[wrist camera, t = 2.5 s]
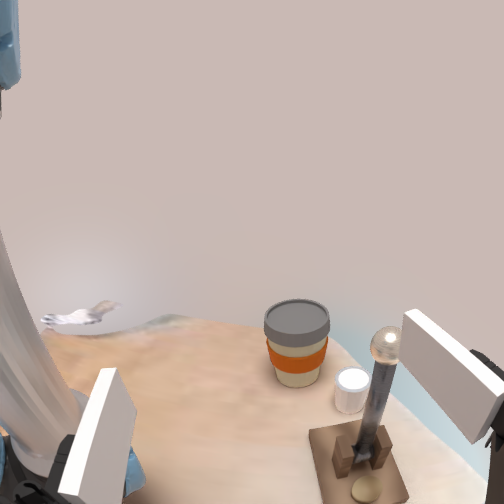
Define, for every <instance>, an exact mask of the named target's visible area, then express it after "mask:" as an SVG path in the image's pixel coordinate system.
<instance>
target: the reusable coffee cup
mask: <svg viewBox="0 0 504 504" xmlns="http://www.w3.org/2000/svg"><path fill="white" fill-rule="evenodd" d="M264 319H265V321H264V332H265V335H266V336H267V341H266V343H267V347H268V351H269V355H270V359H271V362H272V364H273V365H274V367H275V371H276V375H277V378H278V380H279V381H280V382H281V383H282V384H283V385H285V386H288V387H292V388H301V387H306V386H308V385H310V384H312V383H313V382H315V380H316V379H317V377H318V374H319V370H320V366H321V364H322V362H323V360H324V357H325V353H326V348H327V343H328V336H327V334H328V333H329V331H330V320H329V312H328V310H327V309H326V308H325V307H324V306H323V305H321V304H320V303H317V302H315V301H312V300H306V299H292V300H286V301H282V302H279V303H277V304H275V305H273V306H271V307H270V308H269V309H268V310H267V311H266V313H265V318H264Z"/></svg>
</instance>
